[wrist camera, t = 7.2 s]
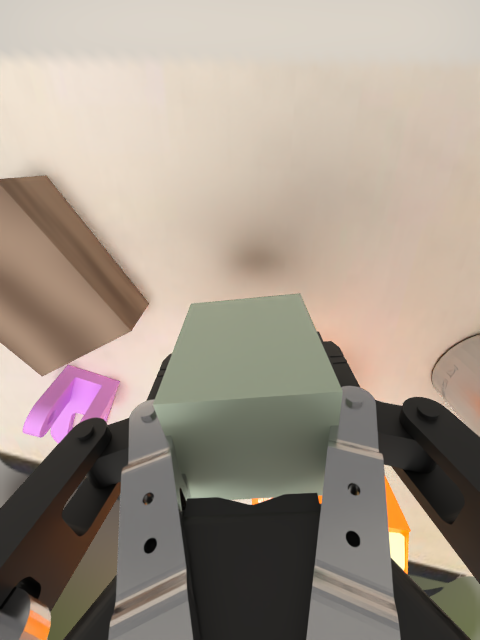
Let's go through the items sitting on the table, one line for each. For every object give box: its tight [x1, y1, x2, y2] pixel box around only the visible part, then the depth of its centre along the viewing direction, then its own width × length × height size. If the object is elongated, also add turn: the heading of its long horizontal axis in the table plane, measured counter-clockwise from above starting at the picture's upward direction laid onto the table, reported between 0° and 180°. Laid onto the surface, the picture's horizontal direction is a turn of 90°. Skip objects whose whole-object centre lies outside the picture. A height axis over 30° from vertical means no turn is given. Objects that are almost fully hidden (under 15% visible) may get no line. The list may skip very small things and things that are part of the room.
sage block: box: [153, 294, 343, 500], centre depth 11 cm, size 5×5×6 cm
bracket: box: [23, 365, 120, 443], centre depth 29 cm, size 13×6×7 cm, turn 154°
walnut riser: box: [0, 176, 149, 376], centre depth 22 cm, size 10×12×5 cm
